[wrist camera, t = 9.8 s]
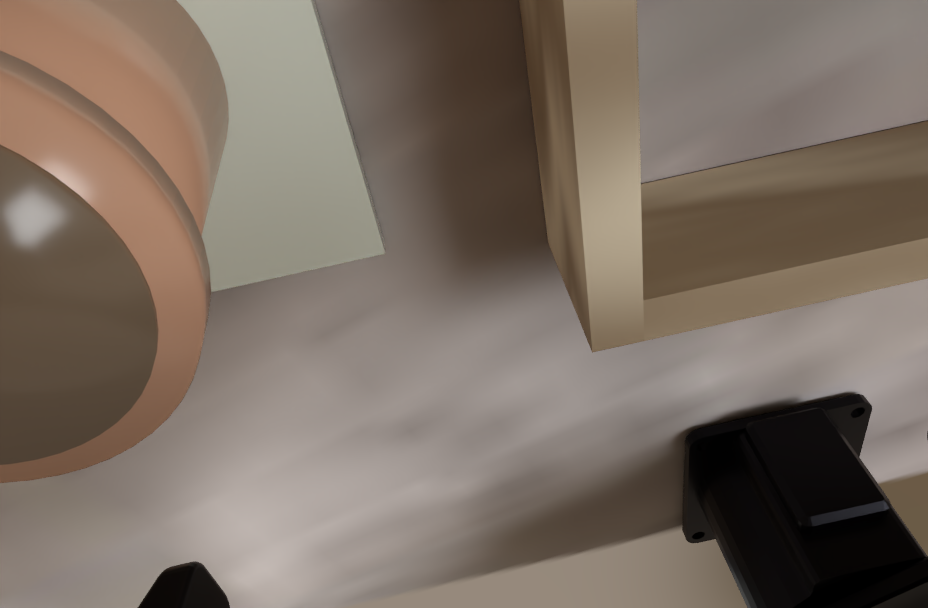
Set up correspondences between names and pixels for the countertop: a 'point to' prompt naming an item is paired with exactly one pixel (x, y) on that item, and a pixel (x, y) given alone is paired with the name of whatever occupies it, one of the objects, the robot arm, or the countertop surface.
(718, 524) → the robot arm
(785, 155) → the cold frame
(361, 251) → the sage tile
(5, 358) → the terracotta pot
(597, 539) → the countertop surface
